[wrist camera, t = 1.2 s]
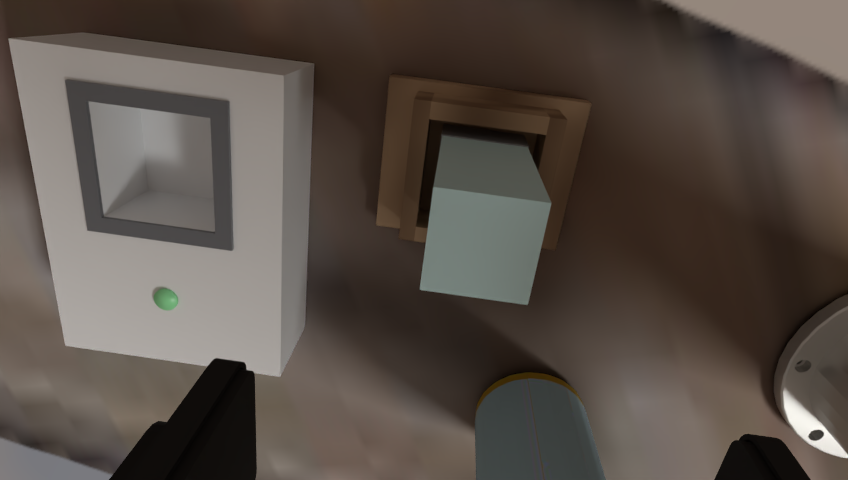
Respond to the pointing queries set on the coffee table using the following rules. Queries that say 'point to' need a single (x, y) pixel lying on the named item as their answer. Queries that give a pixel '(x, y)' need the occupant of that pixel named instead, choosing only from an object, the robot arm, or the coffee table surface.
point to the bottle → (534, 431)
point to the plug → (484, 217)
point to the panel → (171, 195)
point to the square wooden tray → (476, 108)
